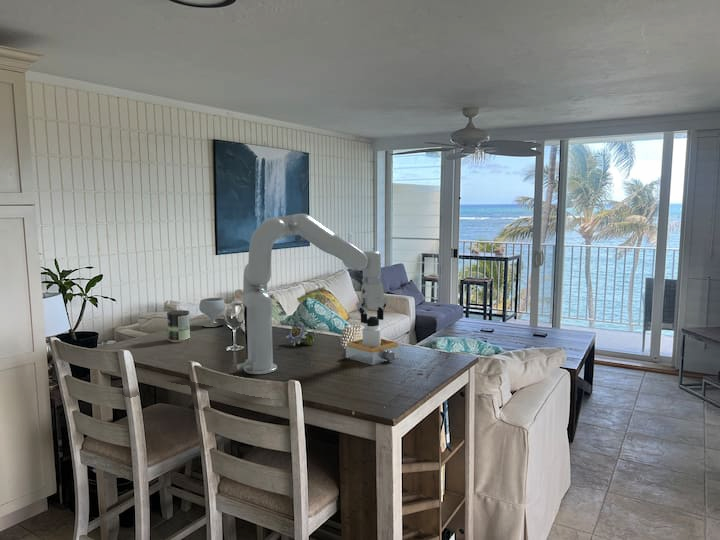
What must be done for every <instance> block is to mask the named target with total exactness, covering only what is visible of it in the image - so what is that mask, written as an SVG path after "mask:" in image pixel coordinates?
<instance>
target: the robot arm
mask: <svg viewBox="0 0 720 540" xmlns="http://www.w3.org/2000/svg"><path fill="white" fill-rule="evenodd" d="M291 236H300V237H302V238H303V239H305V240H306V241H308V242H309V243H311V244H312V245H313V246H315V247H316V248H317V249H319V250H321V251H322V252H324V253H325V254H326V253H327V254H328V255H332V256H334V257H335V258H337V259H339V260H341V261H342V263H343V265H344V266H345V267H346V268H348V269H350V270H353V271H358V272H359V271H362V279H361V282H362V285H361V290H360V291H361V292H360V300H359V301H358V302H356V304H355V306H356V307H357V310H358V313H359V314H360V323H361V324H362V323H363V324H364V323H367V317H368V313H367V312H368V310H372V309H377V310H376V317H377V318H378V319H379V321H383V320H384V311H385V308H386V307H387V302H388V299H387V298H386V297H385V292H384V285H383V283H382V270H381V269H382V258H381V257H382V254H381V252H379V251H377V250H366V251H362V250H360V249H359V248H358V247H356V246H354V245H353V244H352V243H350V242H349V241H348V240H345V239H344V238H342V237H341V236H340V235H338V234H336V233H335V232H333V231H332V230H331V229H329V228H327V227H326V226H324V225H323V224H322V223H320V222H319V221H317V220H316V219H315V218H313V216H311V215H309V214H307V213H294V214H291V215H290V214H289V215H284V216H283V215H282V216H276V217H275V216H274V217H268V218H266V219H264V220H263V221H262V223H261V224H260V225H259V226H258V227H257V228H256V229H255V230H254V231H253V233H252V235H251V237H250V240H249V245H248V246H249V249H248V263H246V265H245V267H244V270H243V279H242V280H243V282H242V283H243V286H242V287H243V288H242V299H243V300H242V301H243V303H244V305H245V307H246V334H247V335H246V336H247V339H246V340H247V358H246V359H245V361H244V362H243V363H238V364H236V369H237V370H242V369H243V370H244V373H246V374H250V375H264V374H271V373H272V372H275V371H276V370H278V365H277V364H275V363H274V357H273V356H274V353H273V350H274V349H273V325H272V324H273V300H272V297H271V296H270V294H269V293H268V283H269V282H270V281H271V278H272V250H273V247H274V244H275V243H276V241H278V240H280V239H281V238H287V237H291Z"/></svg>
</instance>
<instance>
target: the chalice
mask: <svg viewBox="0 0 720 540" xmlns="http://www.w3.org/2000/svg"><path fill="white" fill-rule="evenodd" d="M198 308H199V311H200V313H201V314H203V315H206V316H208V317H209V318H210V322H209V323H210V324H212V323H217V322H216V321H215V319H216V318H217V316H218V315H220V314H222V313H223V312H224V311H225V310H226V303H225V300H224V298H222V297H208V298H202V299H201V300H200V302H199V307H198Z"/></svg>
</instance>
